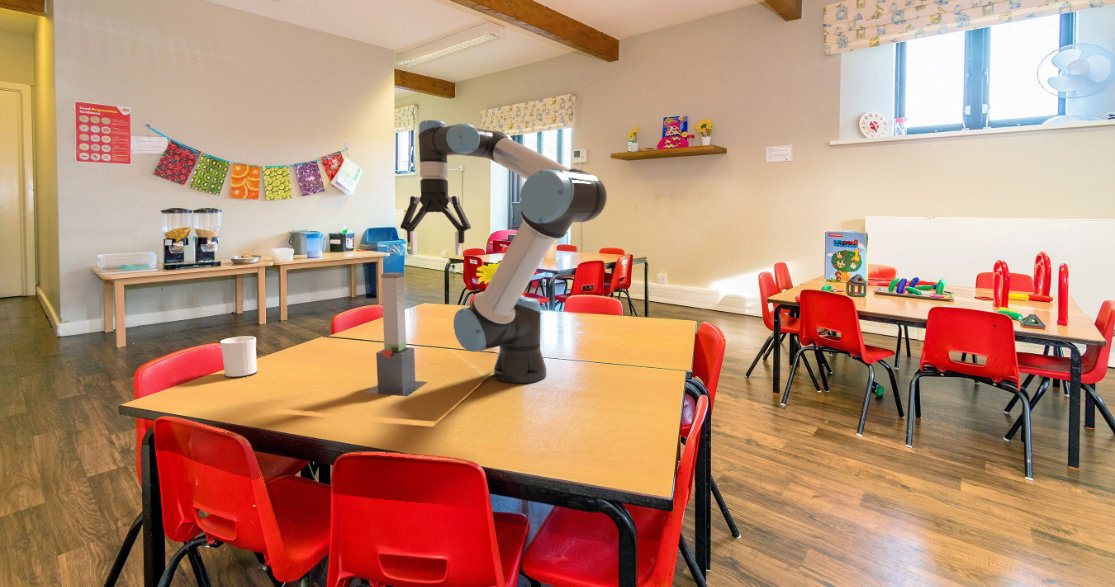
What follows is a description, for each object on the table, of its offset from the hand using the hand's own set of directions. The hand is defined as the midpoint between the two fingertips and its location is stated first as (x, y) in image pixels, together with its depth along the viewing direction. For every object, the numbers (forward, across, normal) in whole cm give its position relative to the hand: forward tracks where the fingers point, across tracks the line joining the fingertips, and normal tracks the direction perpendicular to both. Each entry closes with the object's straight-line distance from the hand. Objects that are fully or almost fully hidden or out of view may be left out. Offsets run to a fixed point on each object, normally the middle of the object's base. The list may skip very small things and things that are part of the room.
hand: (436, 254), depth 155 cm
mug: (+35, +56, +13) cm, 68 cm away
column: (+27, +4, +18) cm, 32 cm away
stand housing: (+35, +4, +18) cm, 39 cm away
